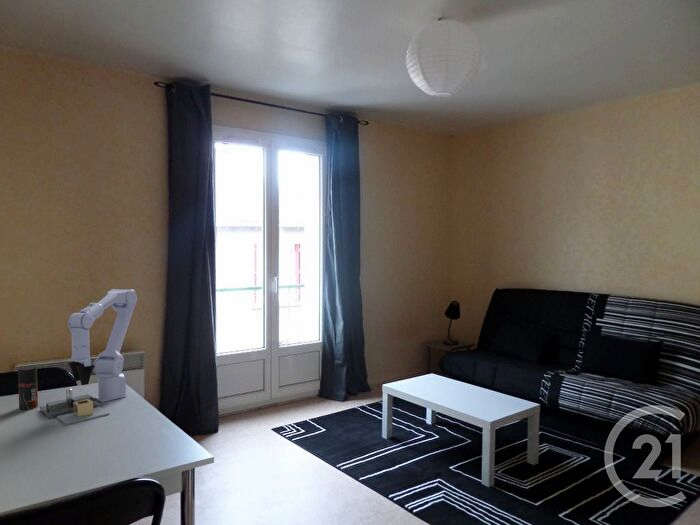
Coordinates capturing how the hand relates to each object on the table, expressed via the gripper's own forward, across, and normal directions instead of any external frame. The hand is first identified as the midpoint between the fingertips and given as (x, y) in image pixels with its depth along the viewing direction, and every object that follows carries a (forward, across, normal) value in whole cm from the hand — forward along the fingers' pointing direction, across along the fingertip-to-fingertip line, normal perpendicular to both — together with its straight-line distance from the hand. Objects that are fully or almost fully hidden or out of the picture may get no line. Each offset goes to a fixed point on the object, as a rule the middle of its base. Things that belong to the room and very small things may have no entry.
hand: (81, 382), depth 179 cm
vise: (+10, -5, -2) cm, 12 cm away
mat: (+10, +7, -2) cm, 13 cm away
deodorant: (+11, -18, -12) cm, 25 cm away
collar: (+10, +7, -2) cm, 12 cm away
